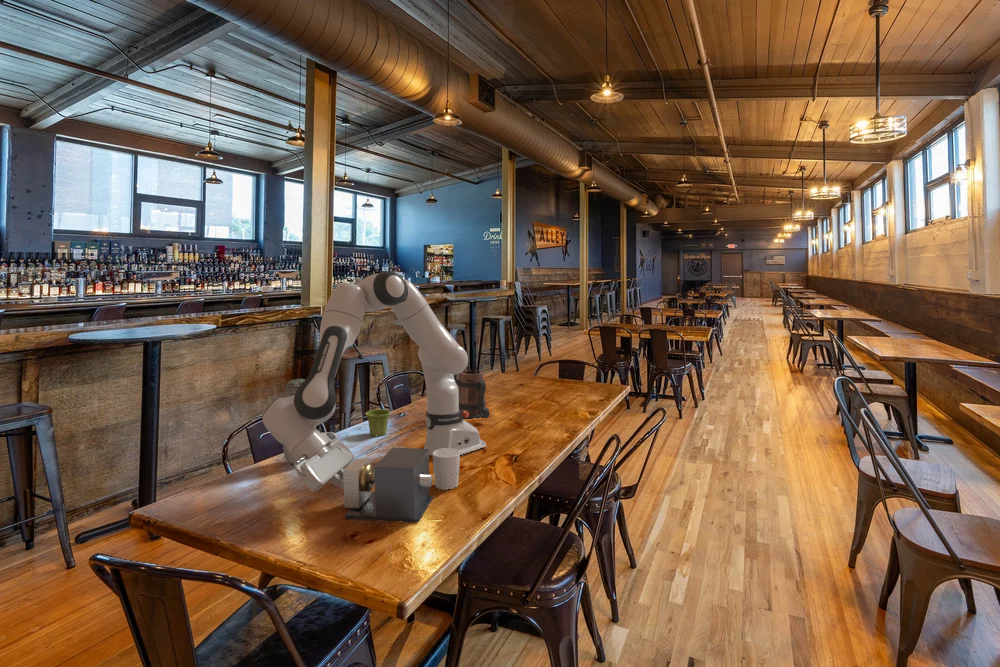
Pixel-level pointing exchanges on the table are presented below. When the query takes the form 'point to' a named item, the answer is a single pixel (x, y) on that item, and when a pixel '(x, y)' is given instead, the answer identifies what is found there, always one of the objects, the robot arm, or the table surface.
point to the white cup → (446, 468)
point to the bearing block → (397, 488)
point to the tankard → (472, 394)
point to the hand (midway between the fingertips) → (348, 486)
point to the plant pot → (378, 421)
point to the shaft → (365, 482)
